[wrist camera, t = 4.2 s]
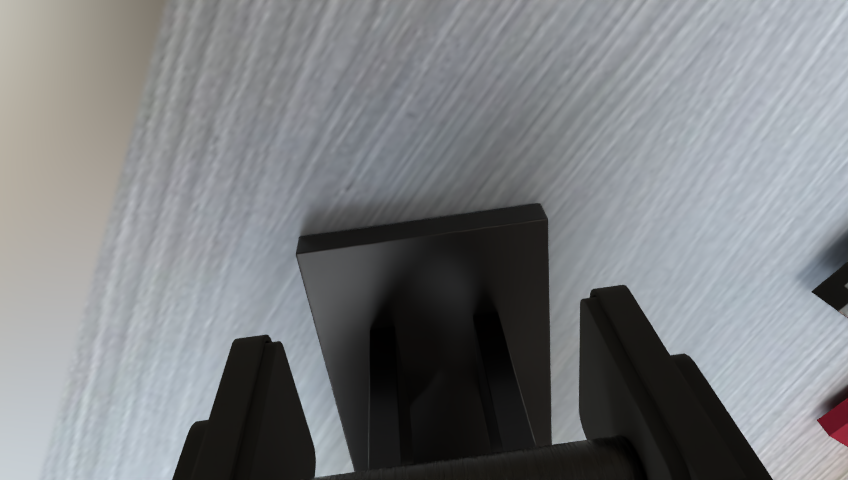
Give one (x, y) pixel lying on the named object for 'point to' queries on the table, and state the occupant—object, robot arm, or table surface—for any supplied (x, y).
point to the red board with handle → (844, 294)
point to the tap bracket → (435, 334)
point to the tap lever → (524, 464)
